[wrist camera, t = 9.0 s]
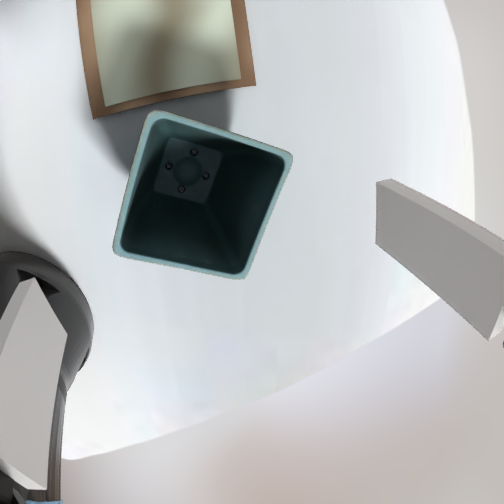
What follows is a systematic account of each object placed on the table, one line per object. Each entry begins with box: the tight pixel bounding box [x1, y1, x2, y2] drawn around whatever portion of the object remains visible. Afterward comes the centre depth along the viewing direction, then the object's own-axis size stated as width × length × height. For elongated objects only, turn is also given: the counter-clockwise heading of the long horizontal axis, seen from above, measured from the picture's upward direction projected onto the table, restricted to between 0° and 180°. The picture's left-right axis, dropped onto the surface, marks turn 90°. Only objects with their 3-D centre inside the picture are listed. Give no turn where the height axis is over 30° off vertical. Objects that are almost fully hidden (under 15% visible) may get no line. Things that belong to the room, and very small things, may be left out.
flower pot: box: [113, 110, 293, 280], centre depth 22 cm, size 9×9×9 cm
